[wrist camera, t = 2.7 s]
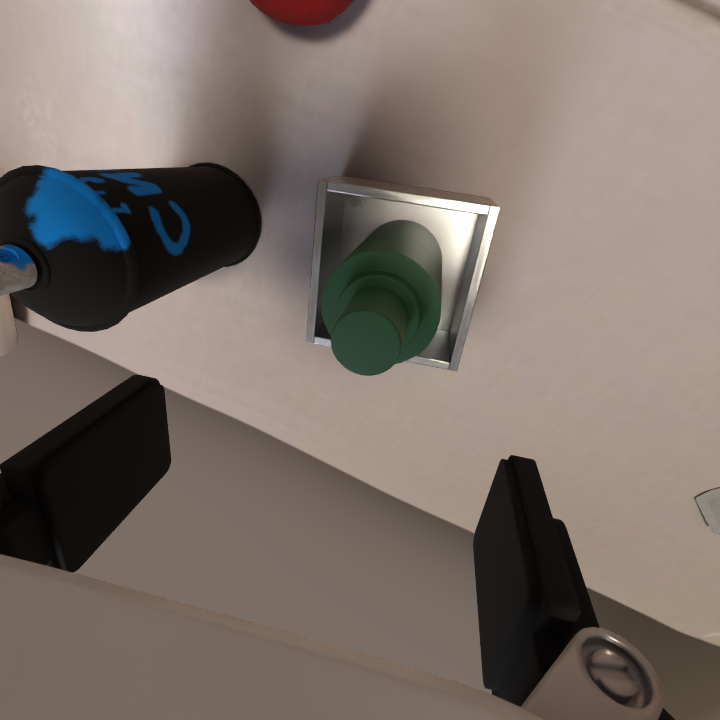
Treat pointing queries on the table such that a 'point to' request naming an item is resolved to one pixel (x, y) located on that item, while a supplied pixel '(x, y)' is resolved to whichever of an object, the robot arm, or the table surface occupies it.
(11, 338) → the mug
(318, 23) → the apple
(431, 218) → the bin
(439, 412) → the table surface
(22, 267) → the aerosol can
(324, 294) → the bottle
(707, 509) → the cleaver
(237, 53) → the table surface
